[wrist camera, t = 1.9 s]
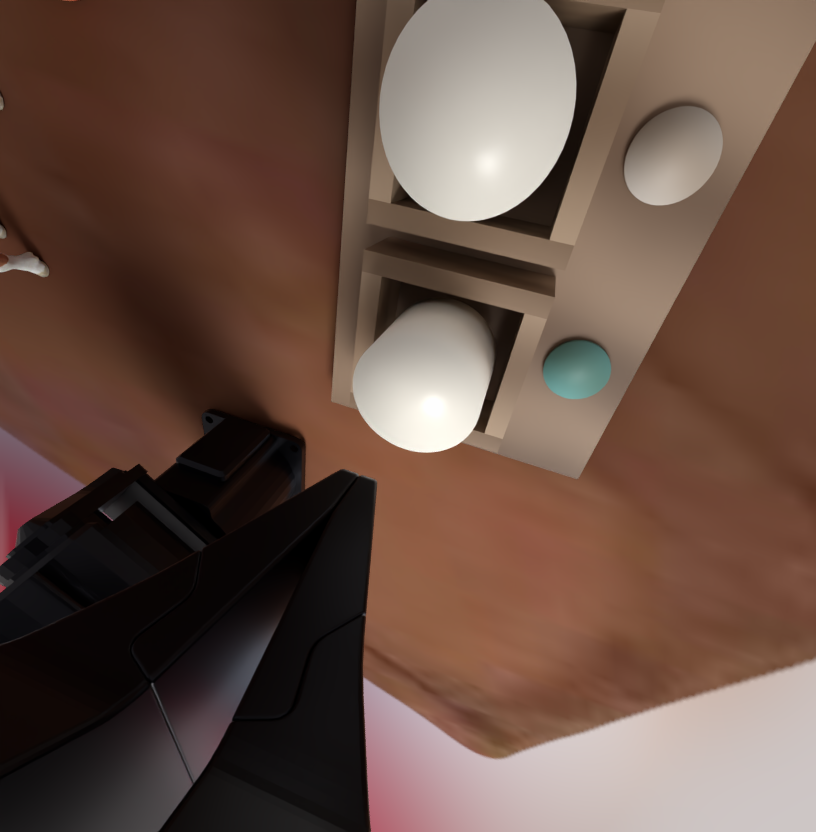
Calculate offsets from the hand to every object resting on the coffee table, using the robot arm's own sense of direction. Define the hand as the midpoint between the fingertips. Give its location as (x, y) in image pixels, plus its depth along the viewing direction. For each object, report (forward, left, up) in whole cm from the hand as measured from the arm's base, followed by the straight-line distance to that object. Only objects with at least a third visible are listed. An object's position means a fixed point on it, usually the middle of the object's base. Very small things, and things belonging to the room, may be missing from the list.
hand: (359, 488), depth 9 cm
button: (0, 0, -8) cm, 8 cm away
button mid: (+7, 0, -8) cm, 10 cm away
